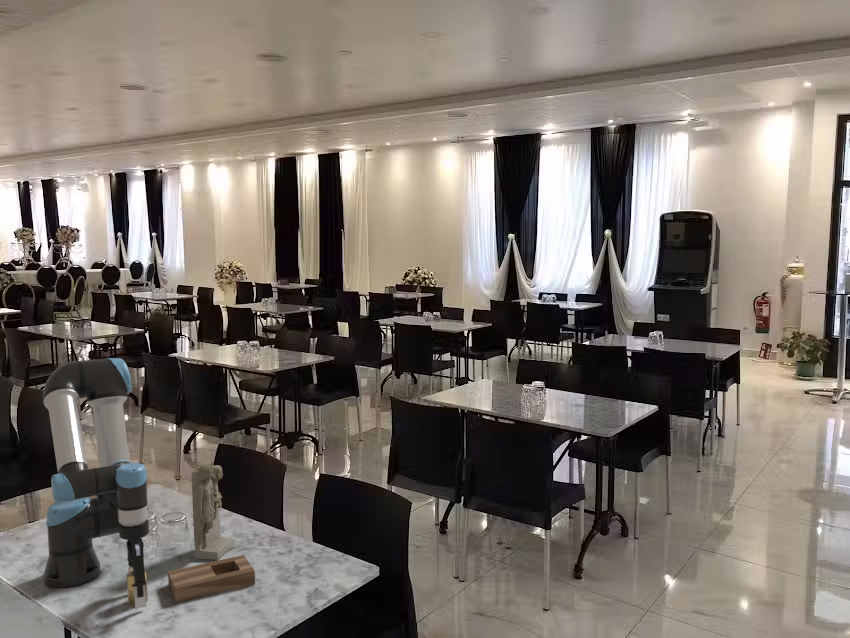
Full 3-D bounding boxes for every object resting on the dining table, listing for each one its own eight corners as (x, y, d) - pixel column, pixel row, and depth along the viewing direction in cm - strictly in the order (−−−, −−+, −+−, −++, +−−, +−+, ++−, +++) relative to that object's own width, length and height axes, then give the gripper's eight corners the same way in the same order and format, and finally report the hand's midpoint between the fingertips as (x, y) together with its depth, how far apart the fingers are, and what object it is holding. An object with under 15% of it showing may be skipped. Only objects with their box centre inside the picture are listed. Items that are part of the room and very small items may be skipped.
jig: (168, 584, 203) (167, 571, 203) (244, 567, 214) (243, 554, 213) (175, 602, 193) (175, 589, 192) (255, 583, 203) (254, 570, 203)
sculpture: (213, 564, 216) (209, 469, 213) (189, 562, 217) (185, 468, 214) (235, 544, 230) (232, 455, 227) (213, 542, 232) (209, 454, 229)
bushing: (127, 600, 194) (125, 572, 194) (146, 595, 197) (145, 568, 196) (129, 608, 190) (127, 579, 189) (148, 603, 192) (147, 575, 192)
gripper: (154, 533, 183) (158, 613, 185) (142, 504, 203) (146, 577, 205) (123, 539, 179) (128, 620, 181) (114, 509, 199) (118, 583, 202)
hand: (137, 597), depth 193 cm, fingers open, 11 cm apart
